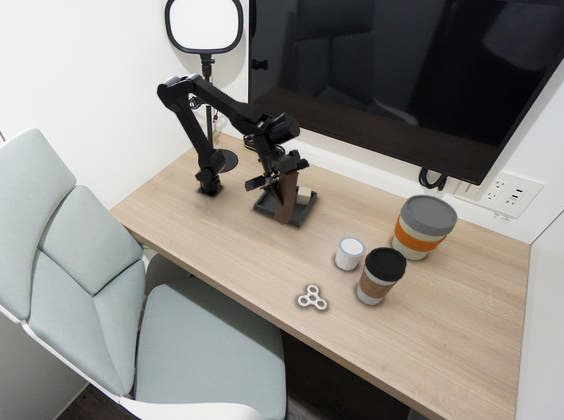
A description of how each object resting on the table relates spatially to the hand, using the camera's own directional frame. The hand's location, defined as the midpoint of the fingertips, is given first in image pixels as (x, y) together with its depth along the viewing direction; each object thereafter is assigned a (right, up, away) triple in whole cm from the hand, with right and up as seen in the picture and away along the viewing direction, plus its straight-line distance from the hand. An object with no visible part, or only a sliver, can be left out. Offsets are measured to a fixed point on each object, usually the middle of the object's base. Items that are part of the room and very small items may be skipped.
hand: (288, 203), depth 88 cm
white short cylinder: (+16, -16, -1) cm, 23 cm away
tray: (+2, 0, +16) cm, 16 cm away
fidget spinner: (+5, -24, -8) cm, 26 cm away
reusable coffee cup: (+35, -13, +2) cm, 37 cm away
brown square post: (-1, -5, +6) cm, 8 cm away
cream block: (+8, +1, +17) cm, 19 cm away
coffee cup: (+19, -23, -8) cm, 31 cm away
